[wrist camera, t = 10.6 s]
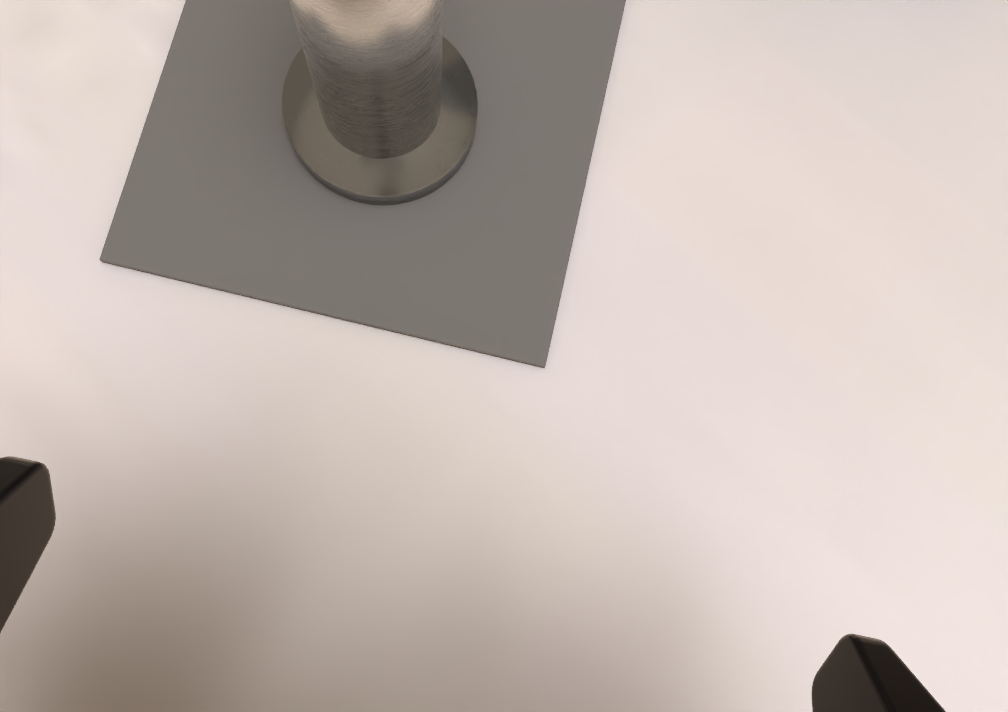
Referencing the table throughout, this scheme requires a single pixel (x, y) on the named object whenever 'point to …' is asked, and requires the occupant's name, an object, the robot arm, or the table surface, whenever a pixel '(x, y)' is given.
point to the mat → (363, 227)
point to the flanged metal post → (378, 98)
